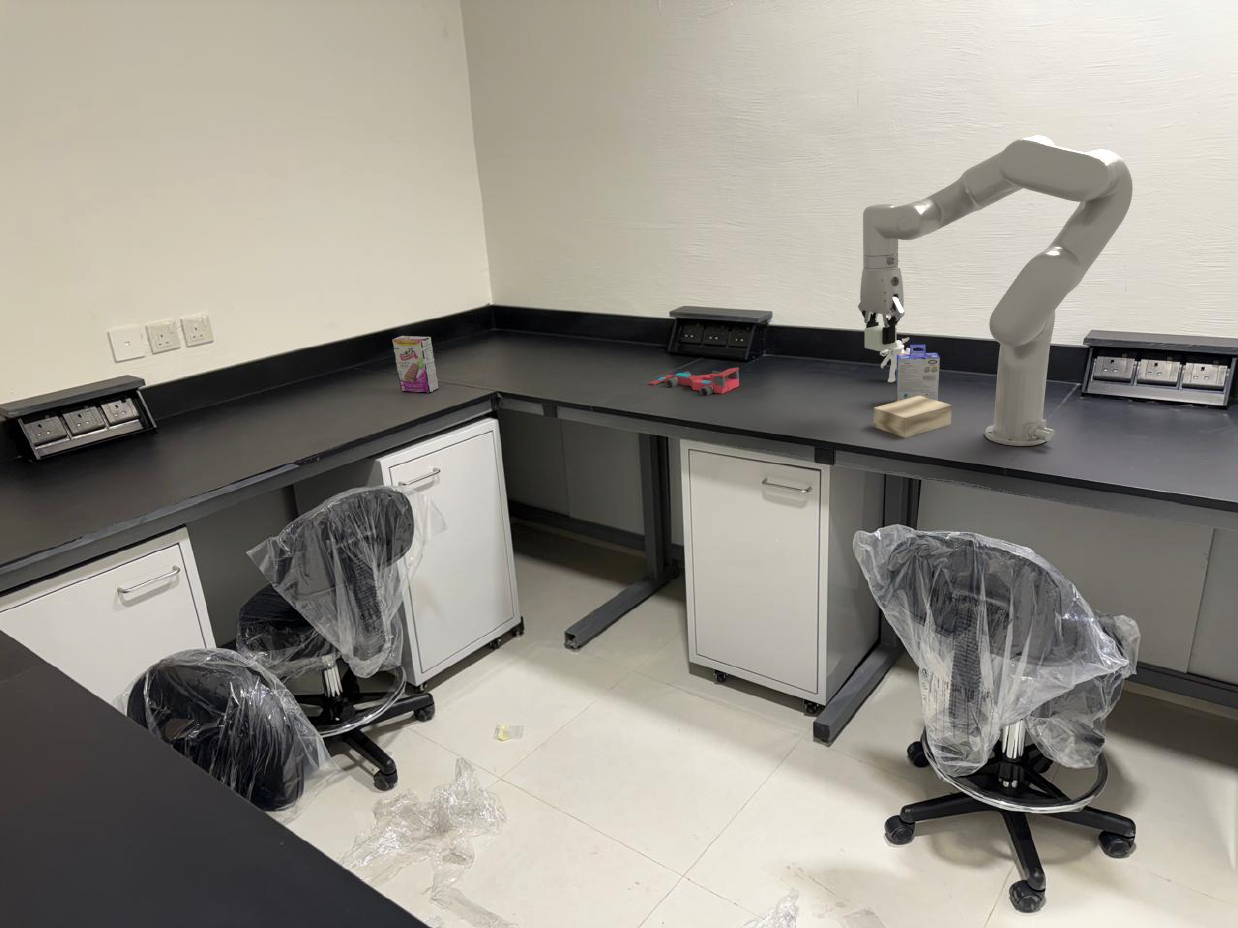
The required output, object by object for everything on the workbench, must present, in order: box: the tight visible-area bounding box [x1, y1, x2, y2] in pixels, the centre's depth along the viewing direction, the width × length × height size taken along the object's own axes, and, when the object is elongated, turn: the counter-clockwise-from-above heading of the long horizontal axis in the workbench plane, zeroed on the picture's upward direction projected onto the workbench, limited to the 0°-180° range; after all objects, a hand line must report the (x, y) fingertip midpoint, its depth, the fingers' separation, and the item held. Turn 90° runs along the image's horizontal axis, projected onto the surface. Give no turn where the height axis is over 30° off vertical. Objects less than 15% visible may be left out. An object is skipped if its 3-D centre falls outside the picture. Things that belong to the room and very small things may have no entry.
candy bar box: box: [391, 335, 440, 392], centre depth 263 cm, size 11×5×16 cm, turn 65°
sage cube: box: [864, 324, 897, 352], centre depth 202 cm, size 5×5×4 cm
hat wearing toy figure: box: [879, 336, 914, 383], centre depth 234 cm, size 9×4×12 cm, turn 54°
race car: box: [648, 367, 740, 397], centre depth 247 cm, size 14×6×25 cm
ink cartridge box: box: [894, 344, 941, 402], centre depth 215 cm, size 10×6×14 cm, turn 78°
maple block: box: [872, 396, 953, 438], centre depth 202 cm, size 10×14×5 cm
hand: (880, 340), depth 203 cm, fingers closed on sage cube, 5 cm apart
